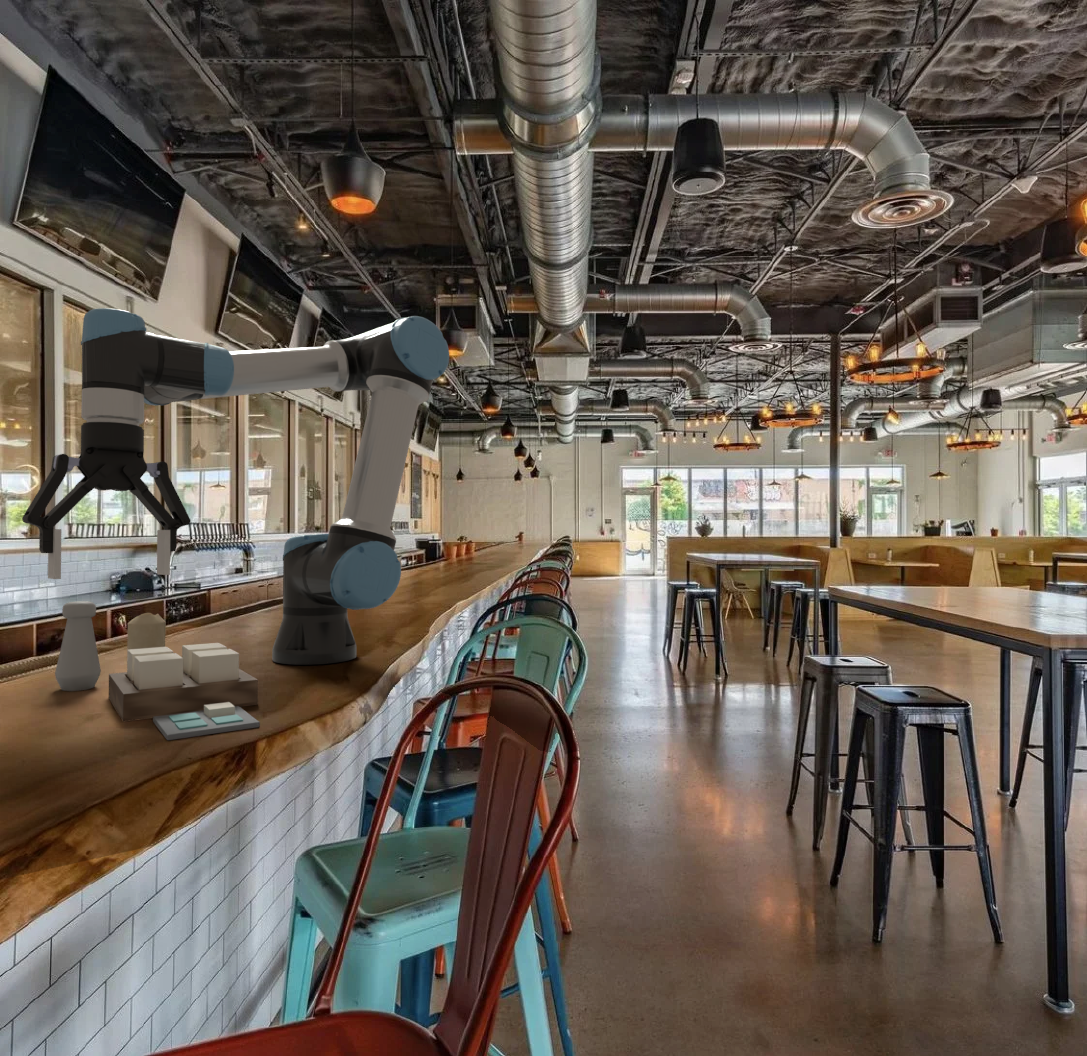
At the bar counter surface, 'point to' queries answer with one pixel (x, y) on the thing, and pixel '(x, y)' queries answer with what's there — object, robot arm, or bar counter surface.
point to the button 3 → (215, 665)
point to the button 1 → (142, 652)
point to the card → (205, 721)
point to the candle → (146, 632)
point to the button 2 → (158, 671)
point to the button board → (178, 696)
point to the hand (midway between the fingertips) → (111, 576)
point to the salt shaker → (78, 648)
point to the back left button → (189, 649)
